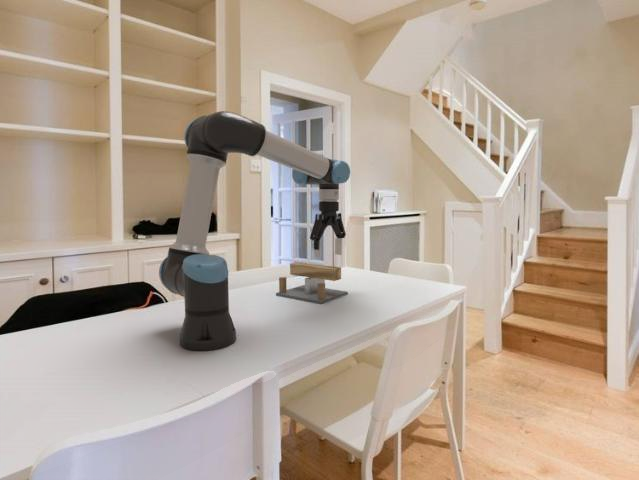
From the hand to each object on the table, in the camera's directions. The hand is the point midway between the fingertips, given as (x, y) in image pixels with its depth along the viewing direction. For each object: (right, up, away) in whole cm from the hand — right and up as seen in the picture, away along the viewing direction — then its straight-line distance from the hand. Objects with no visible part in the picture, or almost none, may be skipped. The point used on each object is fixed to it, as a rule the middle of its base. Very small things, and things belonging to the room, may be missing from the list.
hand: (328, 256), depth 162 cm
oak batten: (-5, -8, +5) cm, 11 cm away
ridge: (-5, -15, +6) cm, 17 cm away
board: (-6, -15, +5) cm, 17 cm away
